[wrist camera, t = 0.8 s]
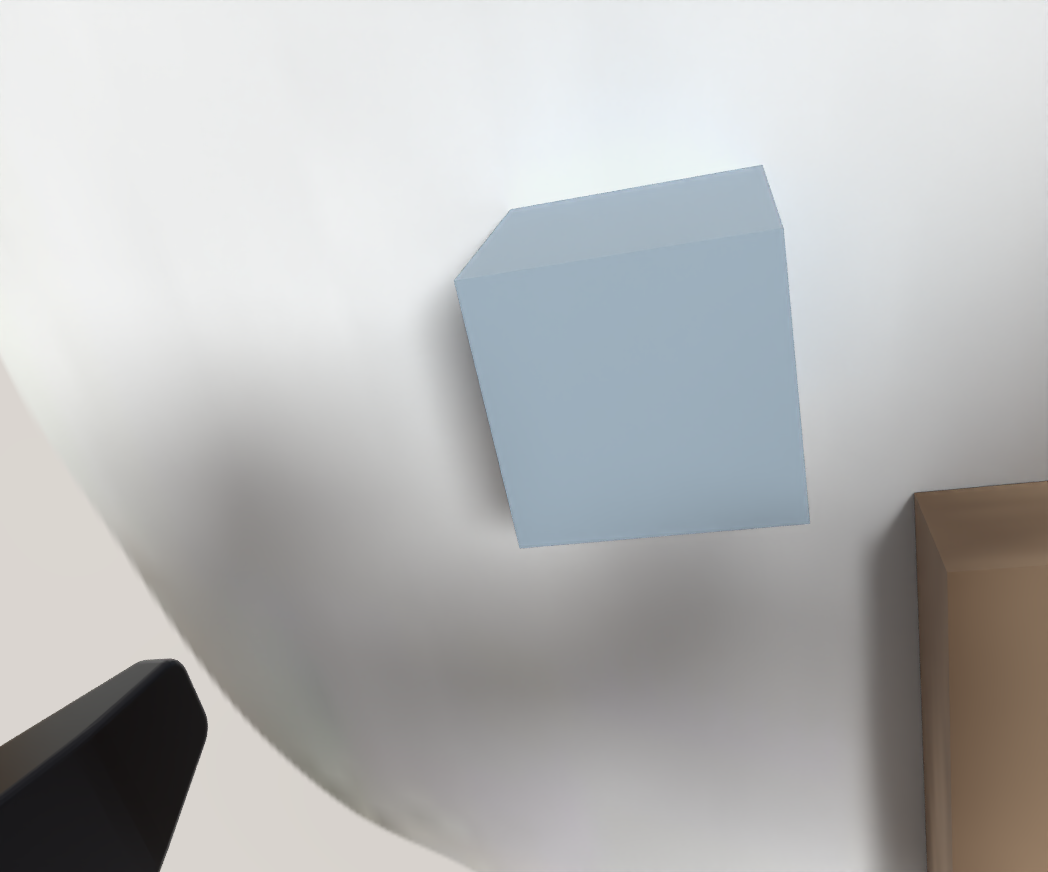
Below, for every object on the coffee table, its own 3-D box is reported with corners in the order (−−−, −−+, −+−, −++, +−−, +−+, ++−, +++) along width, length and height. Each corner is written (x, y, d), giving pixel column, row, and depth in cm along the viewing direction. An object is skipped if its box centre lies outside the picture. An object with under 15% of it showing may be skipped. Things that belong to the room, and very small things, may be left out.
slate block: (762, 164, 18) (783, 228, 13) (785, 400, 20) (810, 523, 15) (511, 208, 19) (454, 280, 14) (557, 426, 21) (520, 548, 16)
